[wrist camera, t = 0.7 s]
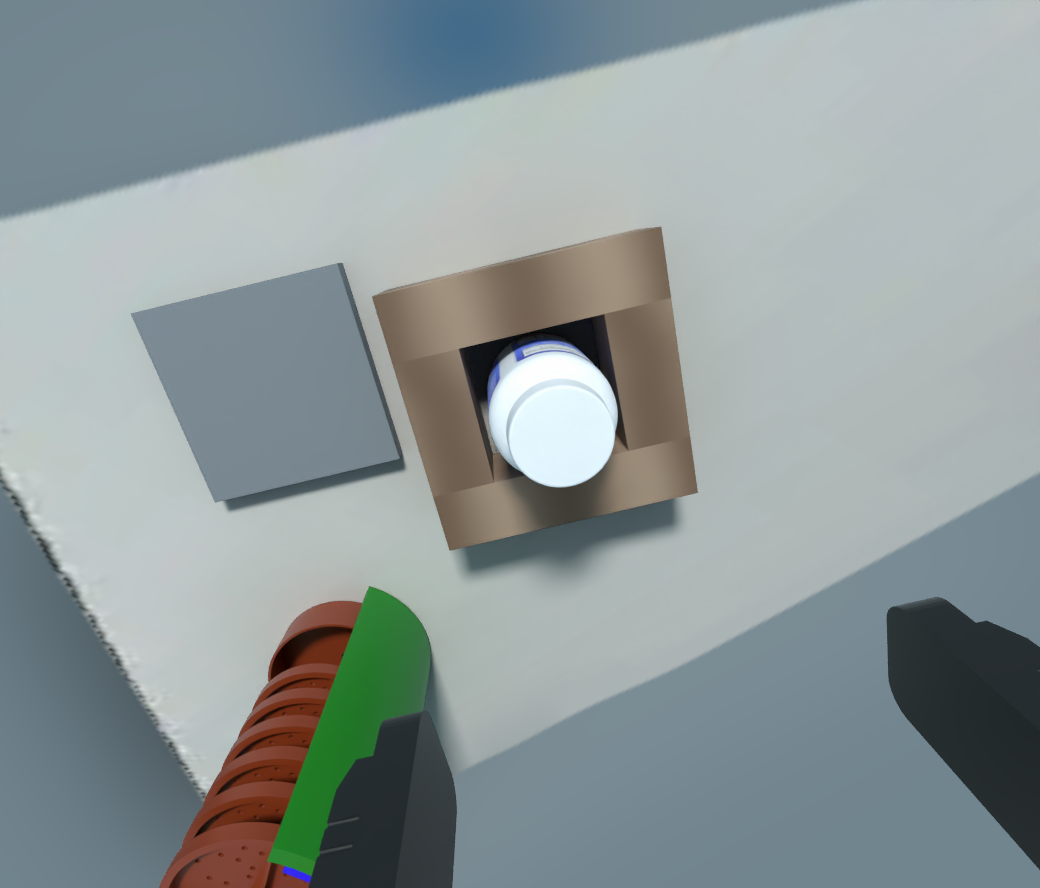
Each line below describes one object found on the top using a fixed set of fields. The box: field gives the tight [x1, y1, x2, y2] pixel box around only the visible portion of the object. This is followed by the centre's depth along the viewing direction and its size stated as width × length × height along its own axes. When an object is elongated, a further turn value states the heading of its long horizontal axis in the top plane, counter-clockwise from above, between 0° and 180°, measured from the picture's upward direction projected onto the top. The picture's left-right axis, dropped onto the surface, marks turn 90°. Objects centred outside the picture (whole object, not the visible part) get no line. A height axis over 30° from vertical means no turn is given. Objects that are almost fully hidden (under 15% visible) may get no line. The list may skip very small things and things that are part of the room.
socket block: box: [372, 227, 698, 550], centre depth 29 cm, size 13×13×4 cm
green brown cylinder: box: [159, 586, 431, 888], centre depth 26 cm, size 10×9×20 cm
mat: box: [131, 263, 402, 502], centre depth 29 cm, size 10×10×1 cm
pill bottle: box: [487, 333, 618, 487], centre depth 26 cm, size 5×5×10 cm
